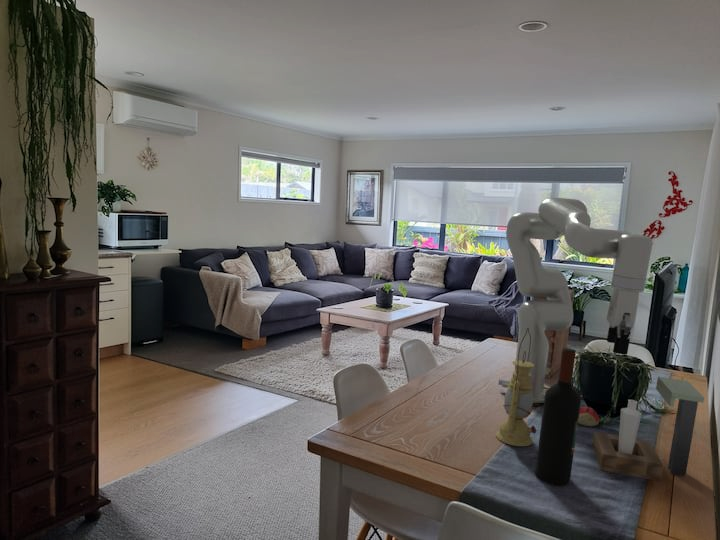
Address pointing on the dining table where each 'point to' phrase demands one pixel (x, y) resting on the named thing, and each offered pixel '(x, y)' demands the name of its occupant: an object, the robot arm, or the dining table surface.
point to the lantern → (518, 405)
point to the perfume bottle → (628, 427)
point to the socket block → (627, 457)
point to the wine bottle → (559, 426)
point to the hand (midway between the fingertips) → (616, 347)
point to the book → (555, 344)
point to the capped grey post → (680, 419)
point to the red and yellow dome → (588, 417)
